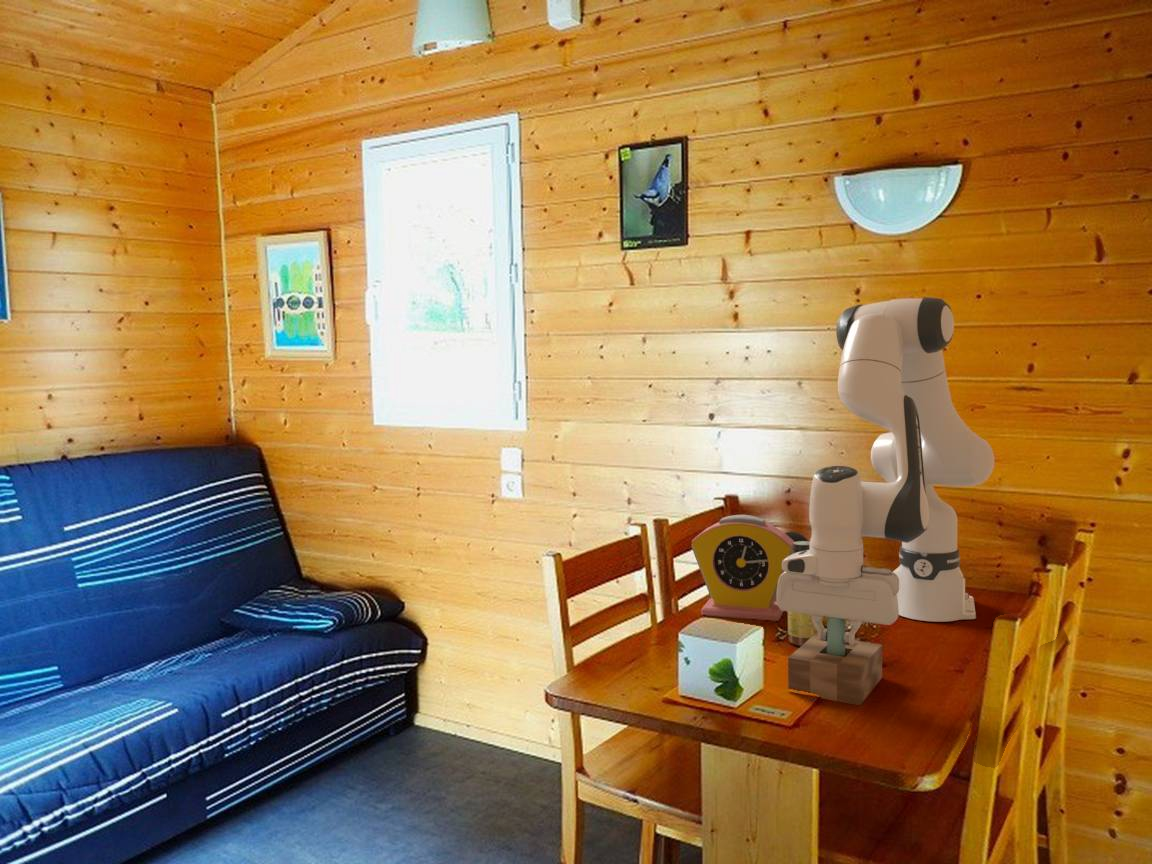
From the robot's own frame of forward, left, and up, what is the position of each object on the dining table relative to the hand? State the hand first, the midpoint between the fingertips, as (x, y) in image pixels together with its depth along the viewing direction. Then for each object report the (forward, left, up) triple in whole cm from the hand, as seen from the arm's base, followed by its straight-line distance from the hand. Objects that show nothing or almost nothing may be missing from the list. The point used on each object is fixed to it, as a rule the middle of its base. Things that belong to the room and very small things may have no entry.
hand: (836, 641), depth 158 cm
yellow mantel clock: (-32, -30, -8) cm, 45 cm away
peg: (0, 0, -5) cm, 5 cm away
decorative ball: (-72, -33, -8) cm, 80 cm away
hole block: (0, 0, -8) cm, 8 cm away
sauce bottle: (-19, -12, -8) cm, 24 cm away
